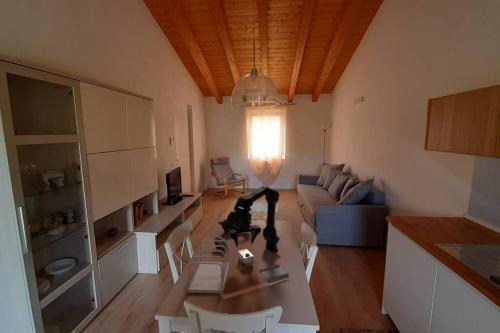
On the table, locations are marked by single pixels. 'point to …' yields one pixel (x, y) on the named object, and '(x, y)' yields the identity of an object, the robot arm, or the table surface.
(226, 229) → the toy figurine
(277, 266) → the cabinet frame
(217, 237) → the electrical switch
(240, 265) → the stand
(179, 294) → the table surface
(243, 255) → the grey drawer
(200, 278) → the file sorter
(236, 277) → the table surface
